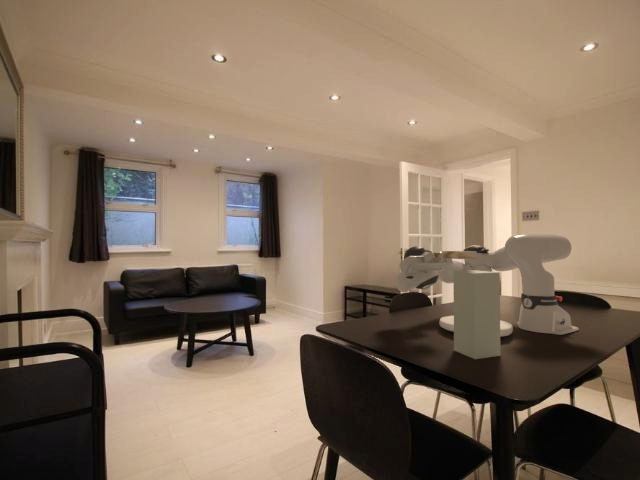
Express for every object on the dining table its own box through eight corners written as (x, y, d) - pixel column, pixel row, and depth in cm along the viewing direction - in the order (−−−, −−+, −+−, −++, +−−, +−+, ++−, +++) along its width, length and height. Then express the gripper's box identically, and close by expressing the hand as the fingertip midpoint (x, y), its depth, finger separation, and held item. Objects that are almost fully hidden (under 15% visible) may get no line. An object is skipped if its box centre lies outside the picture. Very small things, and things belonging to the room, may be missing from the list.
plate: (434, 312, 148) (499, 315, 142) (434, 326, 147) (499, 330, 142) (445, 318, 120) (525, 322, 115) (445, 337, 120) (526, 342, 114)
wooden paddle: (424, 257, 125) (424, 250, 125) (439, 257, 127) (439, 250, 127) (459, 259, 108) (459, 251, 108) (476, 258, 110) (476, 251, 110)
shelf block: (478, 347, 111) (477, 270, 112) (500, 355, 103) (499, 272, 103) (454, 350, 108) (453, 271, 109) (475, 359, 100) (474, 273, 100)
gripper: (443, 276, 136) (464, 260, 125) (400, 277, 129) (418, 261, 118) (437, 262, 139) (458, 246, 128) (395, 263, 132) (413, 246, 121)
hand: (438, 253), depth 123 cm, fingers closed on wooden paddle, 2 cm apart
